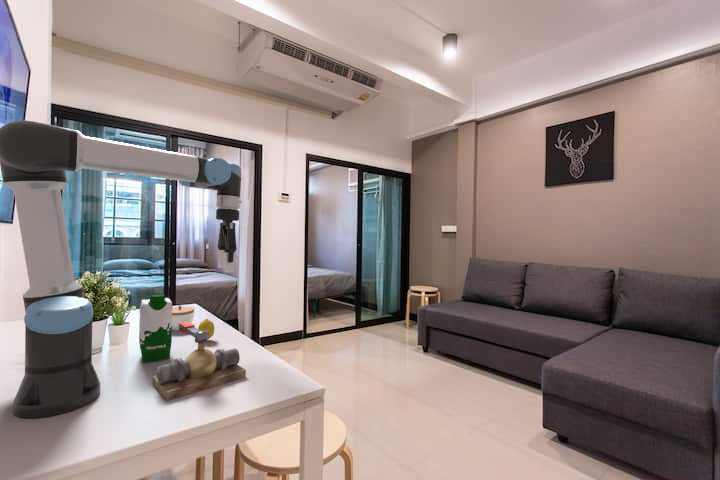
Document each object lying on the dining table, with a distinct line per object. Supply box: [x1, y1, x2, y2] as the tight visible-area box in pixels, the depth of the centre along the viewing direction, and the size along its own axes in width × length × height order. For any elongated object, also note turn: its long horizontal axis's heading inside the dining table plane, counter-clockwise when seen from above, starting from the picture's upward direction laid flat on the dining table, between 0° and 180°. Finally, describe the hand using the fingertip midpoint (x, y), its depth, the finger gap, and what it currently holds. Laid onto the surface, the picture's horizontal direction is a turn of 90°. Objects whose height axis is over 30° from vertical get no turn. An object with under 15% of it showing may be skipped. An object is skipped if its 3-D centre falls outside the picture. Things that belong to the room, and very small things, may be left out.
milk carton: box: [138, 293, 173, 364], centre depth 107 cm, size 9×9×20 cm
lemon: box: [197, 318, 215, 340], centre depth 124 cm, size 6×6×8 cm
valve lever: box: [178, 322, 209, 344], centre depth 96 cm, size 15×3×2 cm, turn 46°
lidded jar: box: [172, 304, 195, 332], centre depth 138 cm, size 11×11×9 cm
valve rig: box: [151, 342, 247, 401], centre depth 92 cm, size 20×12×10 cm, turn 136°
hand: (225, 270), depth 118 cm, fingers open, 13 cm apart
